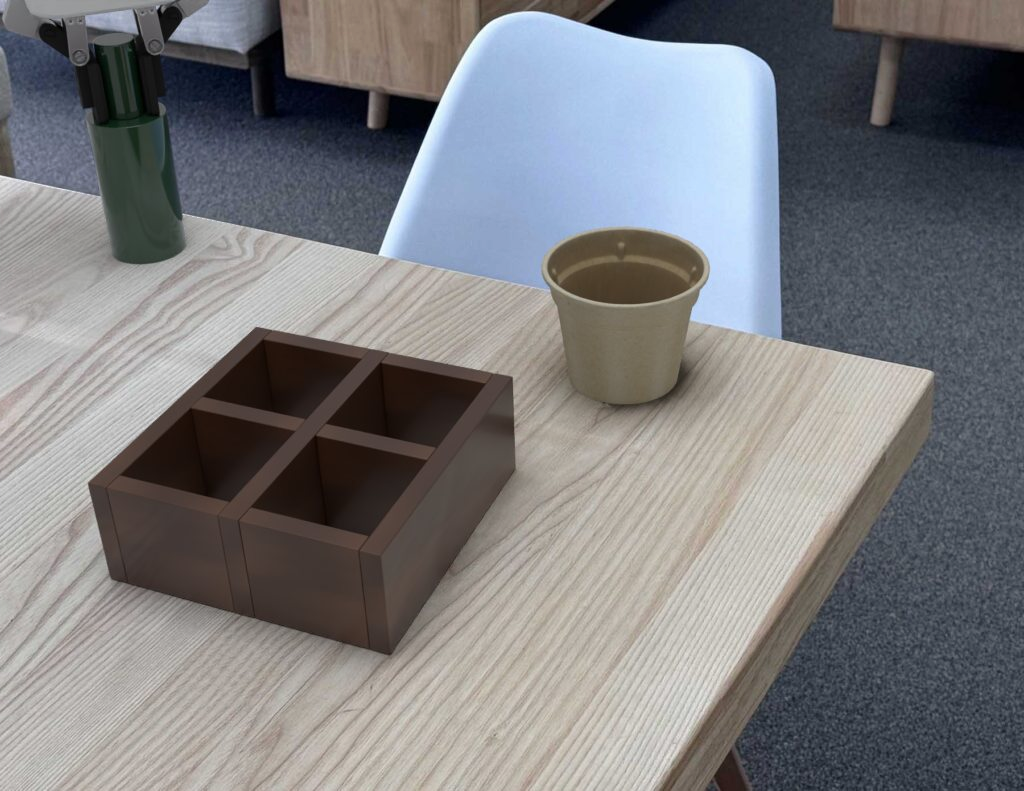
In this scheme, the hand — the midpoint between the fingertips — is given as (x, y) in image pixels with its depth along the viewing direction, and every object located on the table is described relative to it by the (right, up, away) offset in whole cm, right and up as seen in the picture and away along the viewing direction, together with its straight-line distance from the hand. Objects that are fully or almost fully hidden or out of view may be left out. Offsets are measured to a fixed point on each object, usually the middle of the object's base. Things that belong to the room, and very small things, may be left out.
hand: (125, 110), depth 93 cm
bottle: (0, -9, +6) cm, 11 cm away
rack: (+16, -26, -19) cm, 35 cm away
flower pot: (+32, -19, -9) cm, 38 cm away
